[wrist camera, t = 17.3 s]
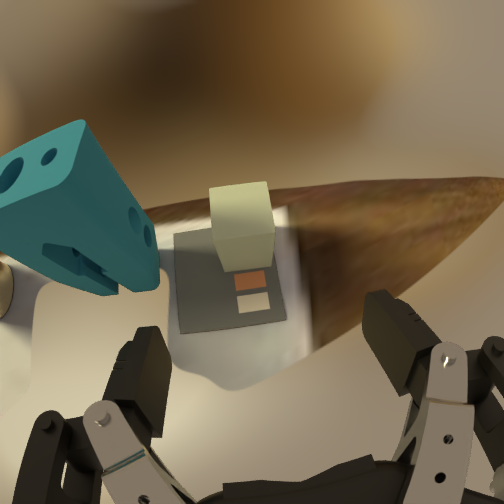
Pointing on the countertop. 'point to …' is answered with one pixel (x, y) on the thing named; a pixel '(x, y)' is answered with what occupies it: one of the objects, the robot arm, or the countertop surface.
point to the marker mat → (221, 288)
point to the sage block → (242, 226)
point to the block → (75, 215)
